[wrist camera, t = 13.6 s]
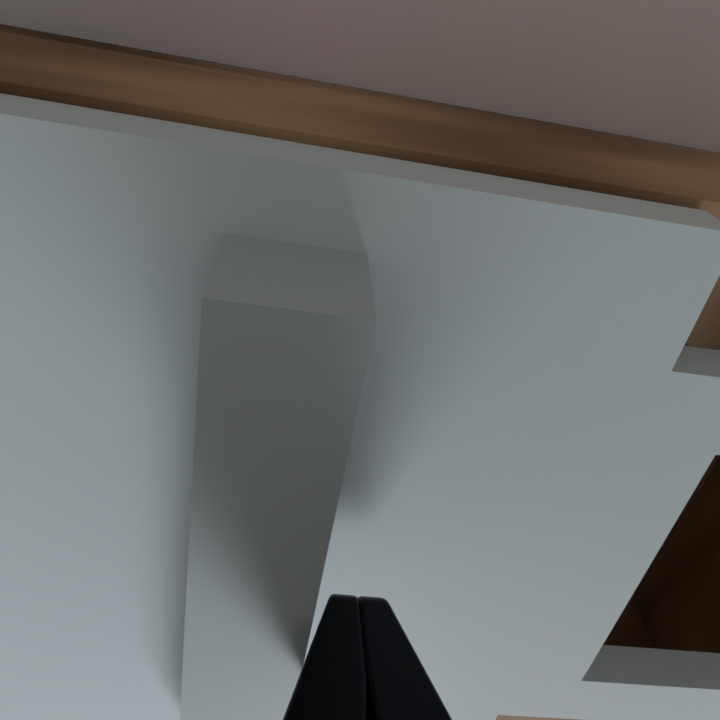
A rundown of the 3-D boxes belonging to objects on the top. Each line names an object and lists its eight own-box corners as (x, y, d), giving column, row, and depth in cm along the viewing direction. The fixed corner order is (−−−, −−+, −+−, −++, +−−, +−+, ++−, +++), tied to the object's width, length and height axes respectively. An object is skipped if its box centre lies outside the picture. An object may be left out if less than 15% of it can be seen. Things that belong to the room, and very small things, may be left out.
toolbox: (896, 184, 12) (1095, 265, 9) (640, 603, 18) (705, 737, 15) (-18, 21, 10) (-174, 51, 7) (44, 554, 16) (-24, 699, 13)
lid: (1225, 297, 9) (1483, 395, 7) (794, 744, 15) (866, 866, 13) (-854, -50, 6) (-1441, -50, 4) (-358, 683, 12) (-494, 829, 10)
